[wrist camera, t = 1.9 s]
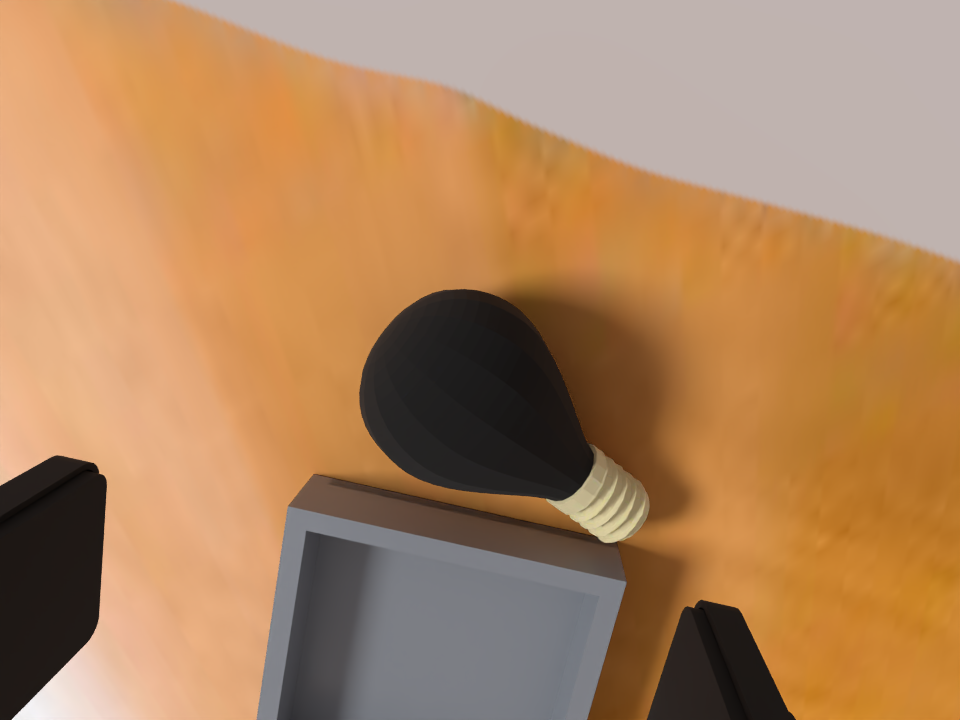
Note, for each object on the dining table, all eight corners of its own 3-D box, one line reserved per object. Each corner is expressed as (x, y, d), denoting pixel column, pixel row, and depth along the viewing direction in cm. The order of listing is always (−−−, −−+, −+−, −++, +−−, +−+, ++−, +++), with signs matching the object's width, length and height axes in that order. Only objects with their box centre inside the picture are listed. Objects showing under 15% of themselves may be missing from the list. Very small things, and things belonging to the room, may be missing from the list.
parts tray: (546, 790, 30) (548, 853, 27) (274, 727, 31) (247, 782, 28) (616, 541, 27) (626, 582, 24) (313, 474, 28) (288, 506, 25)
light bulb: (697, 589, 21) (402, 368, 18) (552, 613, 26) (295, 443, 22) (712, 425, 26) (478, 218, 22) (585, 471, 30) (375, 308, 27)
